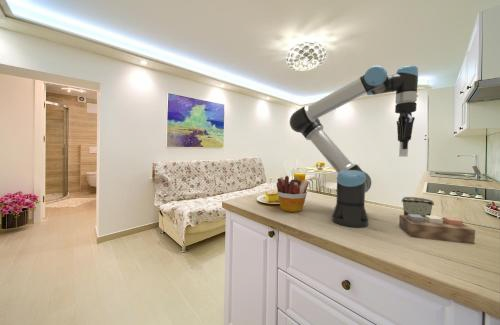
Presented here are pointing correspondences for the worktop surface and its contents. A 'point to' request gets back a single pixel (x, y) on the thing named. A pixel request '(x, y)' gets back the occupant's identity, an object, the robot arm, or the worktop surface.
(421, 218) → the slate key
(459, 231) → the brown wooden tray
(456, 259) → the worktop surface
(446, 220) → the terracotta key
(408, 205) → the food container
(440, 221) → the ivory key
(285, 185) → the bucket of meat
